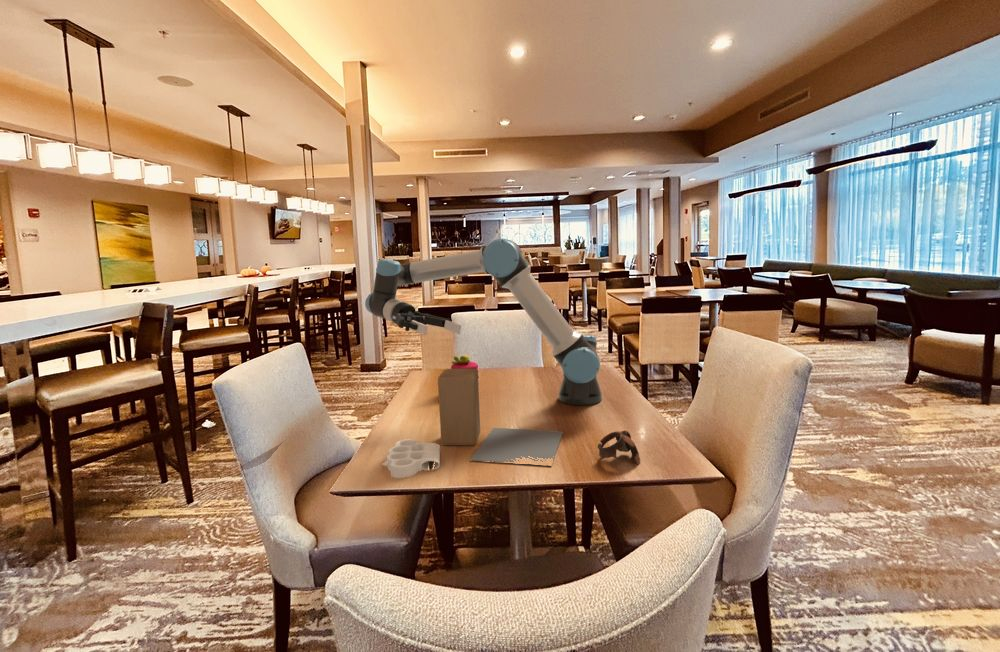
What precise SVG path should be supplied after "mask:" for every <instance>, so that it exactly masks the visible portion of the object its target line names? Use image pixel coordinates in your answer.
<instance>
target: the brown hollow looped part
mask: <svg viewBox="0 0 1000 652" xmlns="http://www.w3.org/2000/svg"><path fill="white" fill-rule="evenodd" d="M614 439H616V442H615V443H613V444H611V445H609V446H607V447H604V446H605V445H606V444H607V443H608V442H610V441H612V440H614ZM599 442H600V443H598V444H597V449H598V456H599V457H600V458H601V459H606V458H607V459H608V458H614V459H618V458H617V457H618V456H617V451H619V452H624V453H628V452H630V454H631V457H633V459H634V461H635V464H636V466H639V465H640V463H641V458H640V457H641V456H640V453H639V451H638V448H637V445H636V443H635V442H634V440H632V436H631V434H630V432H629V431H627V430H625V429H624V430H622V431H620V430H619V431H612V432H610V433H608V434H606V435H605V436H603V438H600V441H599Z"/></svg>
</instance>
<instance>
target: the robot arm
mask: <svg viewBox="0 0 1000 652" xmlns="http://www.w3.org/2000/svg"><path fill="white" fill-rule="evenodd" d="M375 271H376V272H375V278H374V285H373V290H372V292H371V293H370V294H368V295H367V297H366V299H365V301H364V304H365V305H364V306H365V309H366V310H367V311H368V313H371V314H372V315H374V316H375V317H379V318H381V319H383V320H386V321H388V322H391V324H392V325H394V324H396V325H397V326H398V328H399V329H404V330H405V331H406V332H410V330H411V331H414V332H416V333H418V334H420V335H423V336H427V332H428V327H429V326H433V327H434V326H435V327H440V328H444V329H445V330H447V331H449V332H452V333H454V334H457V335H460V334H461V331H462V330H461V329H462V325H461V324H459V323H455V322H452V319H450V318H449V317H447V318H446V317H445V318H444V317H441V316H436V315H433V314H430V313H426V312H425V313H421V312H419V311H417V310H416V308H415V306H414V305H412V304H410V303H408V302H405V301H402V300H400V299H396V295H397V292H398V291H397V290H398V287H400V286H407V285H412V284H417V283H423V282H424V283H425V282H429V281H436V280H442V279H447V278H454V277H459V276H460V277H461V276H467V275H474V274H480V273H484V274H486V275H491V276H493V278H494V279H495V281H496V282H497V283H498V285H500V287H501V289H508V290H509V291H510V292H511V294H512V296H513V297H514V298H515V299H516V301H518V303H519V304H520V306H521V307H522V309H524V311H525V312H526V314H527V315H528V316H529V318H530V319H531V320H532V322H533V323H534V324H535V326H536V327H537V328H538V330H539V331H540V332H541V334H542V335H543V337H544V338H545V339H546V341H547V343H548V344H549V345H550V346H551V347H552V353H551V355H552V356H553V357H554V359H555V360H556V361H557V363H558V364H559V366H560V367H561V369H562V372H563V378H562V381H561V385H560V388H559V391H558V400H559V401H560V402H561V403H564V404H568V405H574V406H575V405H576V406H588V405H589V406H590V405H595V404H598V403H600V402H601V401H602V400H603V394H602V390H601V388H600V383H599V381H598V378H597V376H598V374H599V371H600V368H601V362H600V357H599V356H598V353H597V352H598V351H597V345H598V342H597V337H596V336H595V335H587V334H586V335H584V334H582V333H581V332H577V331H574V330H573V328H572V327H571V326H570V324H569V322H568V321H567V320H566V319H565V318H564V316H563V315H562V313H561V312H560V310H558V308H557V307H556V305H555V304H554V303H553V302H552V300H551V299H550V298H549V296H548V295H547V293H546V292H545V291H544V289H543V288H542V287H541V285H540V284H539V283H538V282H537V280H536V279H535V277H534V276H533V275H532V273H531V264H530V262H529V261H528V260H527V259H526V257H525V256H524V255H523V252H522V250H521V248H520V246H519V245H518V243H516V242H515V241H512V240H510V239H507V238H496V239H494V240H492V241H490V242H489V243H488V244H487V245H486V246H481V247H480V249H478V250H474V251H469V252H463V253H456V254H451V255H446V256H440V257H439V256H438V257H435V258H428V259H423V260H418V261H411V262H406V263H400V262H399V261H397V260H394V259H387V258H381V259H380V258H379V260H378V261H377V265H376V268H375ZM428 325H429V326H428Z"/></svg>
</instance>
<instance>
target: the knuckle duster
mask: <svg viewBox="0 0 1000 652" xmlns="http://www.w3.org/2000/svg"><path fill="white" fill-rule="evenodd" d="M440 446H441V445H440V444H438V443H436V442H419V441H418V440H417V439H408V438H406V439H401V440H399V441H397V442H395V445H394V446H392V447H390V449H388V451H387V453H385V454H384V455H383V456H384V457H385V458H386V460H385V461H384V462H382V463H381V466H385V467H387V470H388V471H390V476H391V477H392V476H393V477H392V478H394V477H396V478H395V479H406V478H405V477H407V478H410V477H413V476H414V475H416V473H418V471H419V472H422V471H421V470H424V471H427V470H428V461H429V462H433V461H435V464H434V465H435V466H434V469H435V470H437V469H439V467H440V466H441V465H440V462H441V461H440V458H441V455H440V454H441V453H440V452H441V447H440ZM412 475H413V476H412Z"/></svg>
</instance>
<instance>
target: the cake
mask: <svg viewBox="0 0 1000 652" xmlns="http://www.w3.org/2000/svg"><path fill="white" fill-rule="evenodd" d="M453 360H454V361H451V365H450V369H477V371H478V372H479V365H478V363H477V362H475V361H470V357H469V355H466V354H464V355H461V356H460V357H459V356H457V355H454V356H453ZM479 378H480V377H479V375H478V386H480V380H479Z"/></svg>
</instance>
